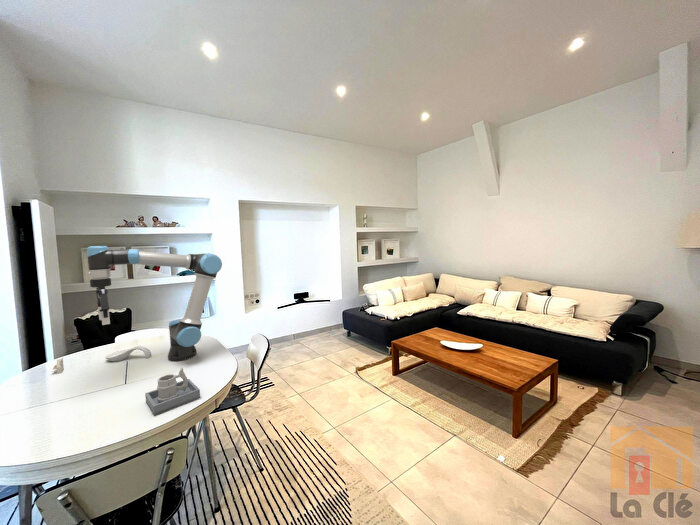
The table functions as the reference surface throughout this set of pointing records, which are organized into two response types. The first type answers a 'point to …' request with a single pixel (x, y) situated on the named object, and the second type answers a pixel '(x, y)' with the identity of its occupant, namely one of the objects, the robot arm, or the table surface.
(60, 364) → the architectural model
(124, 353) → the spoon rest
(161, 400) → the mug
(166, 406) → the box
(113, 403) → the table surface
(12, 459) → the table surface
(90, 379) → the table surface
